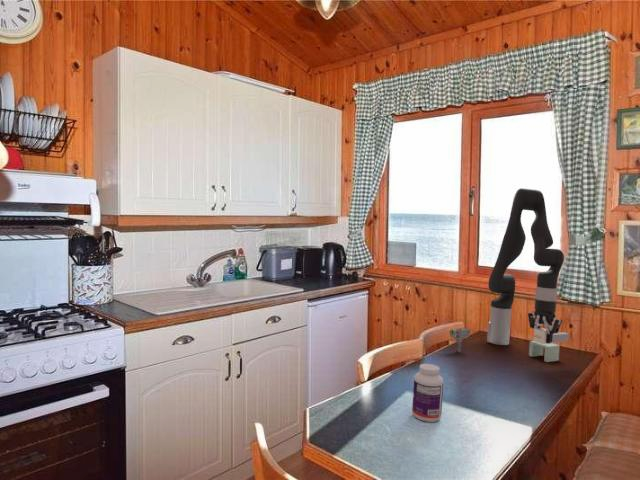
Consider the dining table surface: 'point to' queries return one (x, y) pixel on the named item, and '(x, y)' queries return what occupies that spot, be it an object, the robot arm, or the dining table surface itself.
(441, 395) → the pill bottle
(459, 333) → the mechanical component
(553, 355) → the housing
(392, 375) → the dining table surface
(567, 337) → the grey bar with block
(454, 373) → the dining table surface
